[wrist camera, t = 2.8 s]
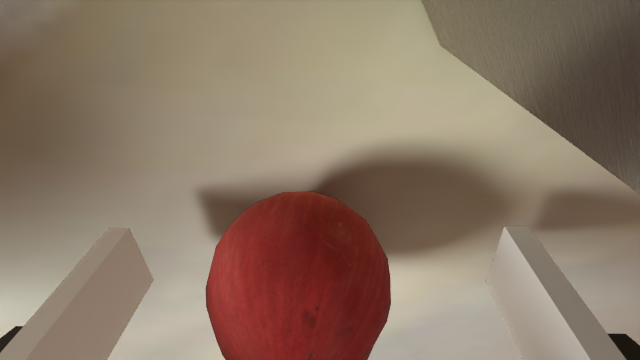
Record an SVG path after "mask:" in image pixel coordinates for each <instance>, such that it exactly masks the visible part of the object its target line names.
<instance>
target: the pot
mask: <svg viewBox="0 0 640 360" xmlns="http://www.w3.org/2000/svg"><path fill="white" fill-rule="evenodd" d="M421 1H422V3H423V5H424V7H425V9H426V12H427V14H428V16H429V19H430V21H431V24H432V26H433V28H434V31H435V33H436V36H437V38H438V41H439V43H440V45H441V46H442V47H443V48H445V49H446V50H447V51H449V52H450V53H451V54H453V55H454V56H455V57H457V58H458V59H459V60H461V61H462V62H463V63H465V64H466V65H467V66H469V67H470V68H471V69H473V70H474V71H476V72H477V73H478V74H480V75H481V76H482V77H484V78H485V79H486V80H488V81H489V82H490V83H492V84H493V85H494V86H496V87H497V88H498V89H500V90H501V91H502V92H504V93H505V94H506V95H508V96H509V97H510V98H512V99H513V100H514V101H516V102H517V103H518V104H520V105H521V106H522V107H524V108H525V109H526V110H528V111H529V112H530V113H532V114H533V115H534V116H536V117H537V118H538V119H540V120H541V121H542V122H544V123H545V124H546V125H548V126H549V127H550V128H552V129H553V130H554V131H556V132H557V133H558V134H560V135H561V136H562V137H564V138H565V139H566V140H568V141H569V142H570V143H572V144H573V145H574V146H576V147H577V148H578V149H580V150H581V151H582V152H584V153H585V154H586V155H588V156H589V157H590V158H592V159H593V160H594V161H596V162H597V163H598V164H600V165H601V166H602V167H604V168H605V169H606V170H608V171H609V172H610V173H612V174H613V175H614V176H616V177H617V178H618V179H620V180H621V181H622V182H624V183H625V184H626V185H628V186H629V187H630V188H632V189H633V190H634V191H636V192H637V193H638V194H640V0H421Z"/></svg>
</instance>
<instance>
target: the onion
mask: <svg viewBox="0 0 640 360" xmlns="http://www.w3.org/2000/svg"><path fill="white" fill-rule="evenodd" d="M390 305H391V294H390V273H389V265H388V258H387V256H386V254H385V253H384V251H383V249H382V247H381V245H380V244H379V242H378V240H377V238H376V237H375V235H374V233H373V231H372V230H371V228H370V226H369V224H368V223H367V221H366V220H365V219H364V218H362V217H361V216H359V215H358V214H357V213H355V212H354V211H353V210H351V209H350V208H348V207H347V206H346V205H344V204H343V203H342V202H340V201H339V200H338V199H336V198H332V197H329V196H325V195H322V194H318V193H315V192H311V191H308V192H283V193H280V194H278V195H275V196H272V197H269V198H267V199H264V200H261V201H259V202H257V203H256V204H254V205H253V206H251V207H250V208H248V209H247V210H245V211H244V212H243V213H242V214H241V215H240V216H239V217H238V218H237V219H236V220H235V221H234V222H233V223H232V224H231V225H230V226H229V227H228V228H227V230H226V231H225V233H224V235H223V236H222V238H221V240H220V241H219V243H218V244H217V246H216V249H215V253H214V257H213V261H212V265H211V269H210V273H209V277H208V281H207V285H206V307H207V311H208V314H209V318H210V321H211V324H212V327H213V330H214V334H215V337H216V340H217V342H218V345H219V347H220V350H221V352H222V355H223V356H224V358H225V359H226V360H367V359H368V357H369V355H370V353H371V350H372V348H373V346H374V344H375V342H376V340H377V338H378V336H379V335H380V333H381V331H382V329H383V327H384V325H385V324H386V322H387V318H388V314H389V310H390Z"/></svg>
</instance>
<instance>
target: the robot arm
mask: <svg viewBox="0 0 640 360" xmlns="http://www.w3.org/2000/svg"><path fill="white" fill-rule="evenodd" d="M153 280H154V279H153V277H152V275H151V273H150V271H149V269H148V267H147V265H146V262H145V260H144V258H143V256H142V254H141V252H140V250H139V248H138V245H137V243H136V241H135V239H134V237H133V235H132V233H131V231H130V229H129V228H109V229H108V230H107V231H106V232H105V233H104V234H103V236H102V237H101V238H100V239H99V240H98V241H97V243H96V244H95V245H94V246H93V247H92V248H91V249H90V251H89V252H88V253H87V254H86V255H85V256H84V257H83V259H82V260H81V261H80V262H79V263H78V264H77V265H76V267H75V268H74V269H73V270H72V271H71V272H70V273H69V275H68V276H67V277H66V278H65V279H64V280H63V282H62V283H61V284H60V285H59V286H58V287H57V288H56V290H55V291H54V292H53V293H52V294H51V295H50V296H49V298H48V299H47V300H46V301H45V302H44V303H43V304H42V306H41V307H40V308H39V309H38V310H37V311H36V312H35V314H34V315H33V316H32V317H31V318H30V319H29V321H28V322H27V323H26V324H25V325H24V326H16V327H14V328H13V329H12V330H11V331H9V332H8V333H7V334H5V335H4V336H3V337H1V338H0V360H107V358H108V357H109V355H110V353H111V352H112V350H113V348H114V346H115V345H116V343H117V341H118V340H119V338H120V336H121V335H122V333H123V331H124V329H125V328H126V326H127V324H128V323H129V321H130V319H131V317H132V316H133V314H134V312H135V311H136V309H137V307H138V305H139V304H140V302H141V300H142V299H143V297H144V295H145V294H146V292H147V290H148V288H149V287H150V285H151V283H152V282H153ZM486 283H487V285H488V287H489V289H490V291H491V294H492V296H493V298H494V300H495V302H496V304H497V306H498V308H499V310H500V313H501V315H502V317H503V319H504V321H505V323H506V325H507V327H508V329H509V332H510V334H511V336H512V338H513V340H514V342H515V344H516V346H517V348H518V351H519V353H520V355H521V357H522V359H523V360H640V345H638V344H637V343H636V342H635V341H633V340H632V339H631V338H630V337H629V336H627V335H626V334H607V333H606V331H605V330H604V329H603V327H602V326H601V325H600V323H599V322H598V321H597V319H596V318H595V316H594V315H593V314H592V312H591V311H590V310H589V308H588V307H587V306H586V304H585V303H584V302H583V300H582V299H581V297H580V296H579V295H578V293H577V292H576V291H575V289H574V288H573V287H572V285H571V284H570V283H569V281H568V280H567V278H566V277H565V276H564V274H563V273H562V272H561V270H560V269H559V268H558V266H557V265H556V264H555V262H554V261H553V259H552V258H551V257H550V255H549V254H548V253H547V251H546V250H545V249H544V247H543V246H542V245H541V243H540V242H539V240H538V239H537V238H536V236H535V235H534V234H533V232H532V231H531V230H530V228H529V227H528V226H504V229H503V232H502V235H501V238H500V241H499V244H498V247H497V250H496V253H495V255H494V258H493V261H492V264H491V267H490V270H489V273H488V276H487V279H486Z"/></svg>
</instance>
